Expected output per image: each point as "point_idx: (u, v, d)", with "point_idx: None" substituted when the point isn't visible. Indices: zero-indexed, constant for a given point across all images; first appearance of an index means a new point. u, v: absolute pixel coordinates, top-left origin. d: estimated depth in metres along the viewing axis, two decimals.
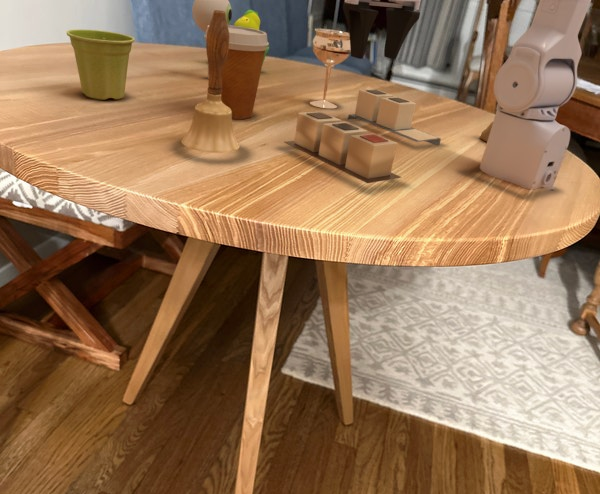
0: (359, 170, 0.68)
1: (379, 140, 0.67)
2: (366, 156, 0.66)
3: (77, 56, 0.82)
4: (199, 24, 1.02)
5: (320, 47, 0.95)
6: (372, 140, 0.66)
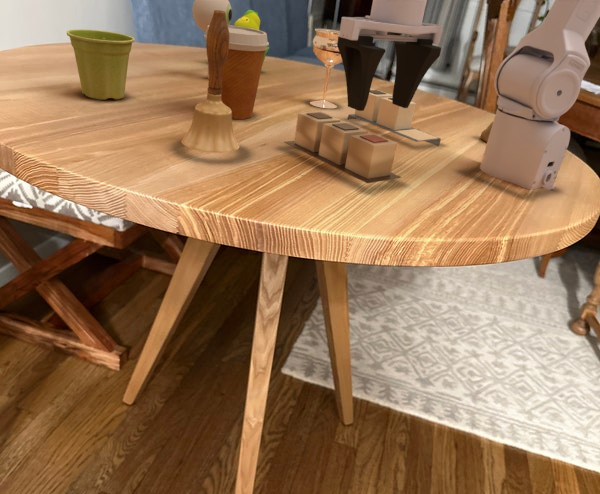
0: (359, 170, 0.68)
1: (379, 140, 0.67)
2: (366, 156, 0.66)
3: (77, 56, 0.82)
4: (199, 24, 1.02)
5: (320, 47, 0.95)
6: (372, 140, 0.66)
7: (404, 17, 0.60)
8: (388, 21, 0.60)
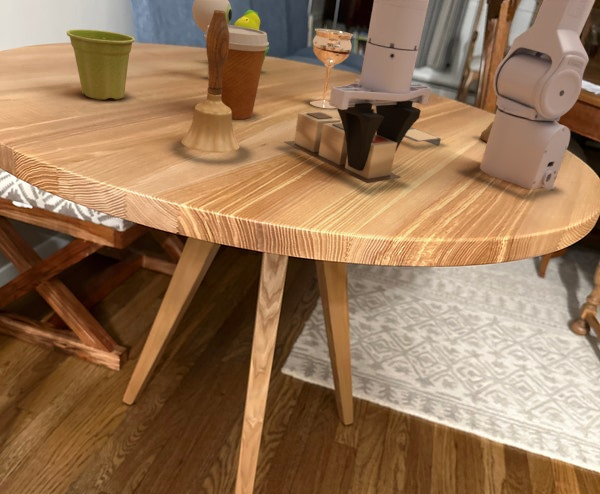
0: None
1: (379, 140, 0.67)
2: None
3: (77, 56, 0.82)
4: (199, 24, 1.02)
5: (320, 47, 0.95)
6: None
7: (392, 86, 0.61)
8: (377, 89, 0.62)
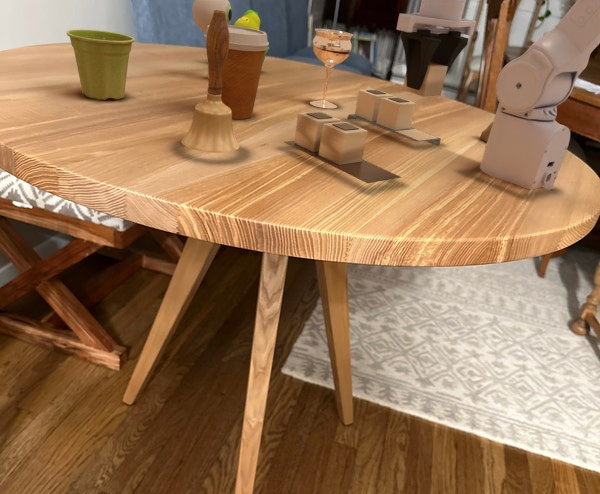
0: (416, 90, 0.80)
1: (433, 63, 0.79)
2: None
3: (77, 56, 0.82)
4: (199, 24, 1.02)
5: (320, 47, 0.95)
6: None
7: (448, 14, 0.74)
8: (435, 17, 0.75)
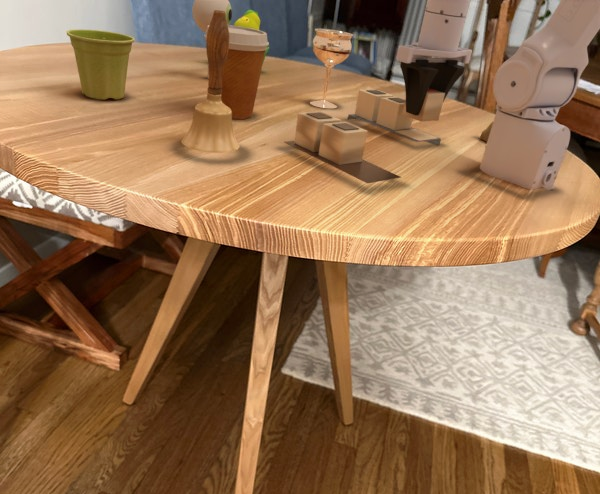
0: (414, 115, 0.85)
1: (431, 91, 0.84)
2: None
3: (77, 56, 0.82)
4: (199, 24, 1.02)
5: (320, 47, 0.95)
6: None
7: (445, 45, 0.79)
8: (433, 48, 0.79)
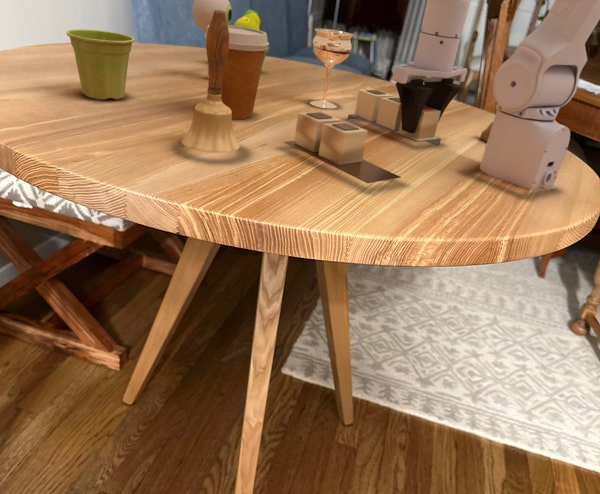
0: None
1: (427, 108, 0.85)
2: None
3: (77, 56, 0.82)
4: (199, 24, 1.02)
5: (320, 47, 0.95)
6: None
7: (440, 66, 0.80)
8: (428, 68, 0.80)
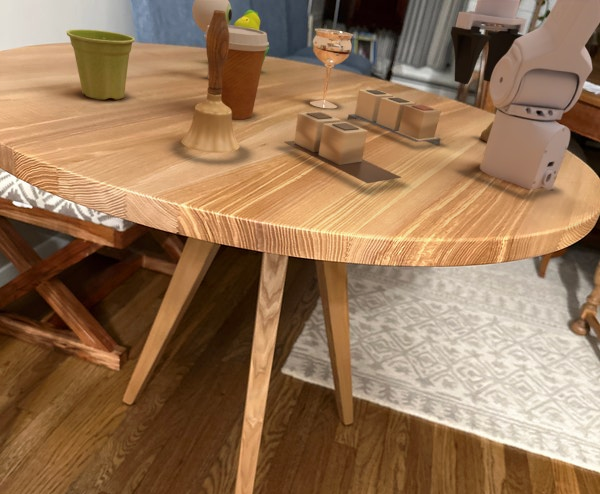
0: (411, 132, 0.86)
1: (427, 108, 0.85)
2: (417, 121, 0.85)
3: (77, 56, 0.82)
4: (199, 24, 1.02)
5: (320, 47, 0.95)
6: (422, 108, 0.85)
7: (504, 12, 0.79)
8: (492, 15, 0.79)
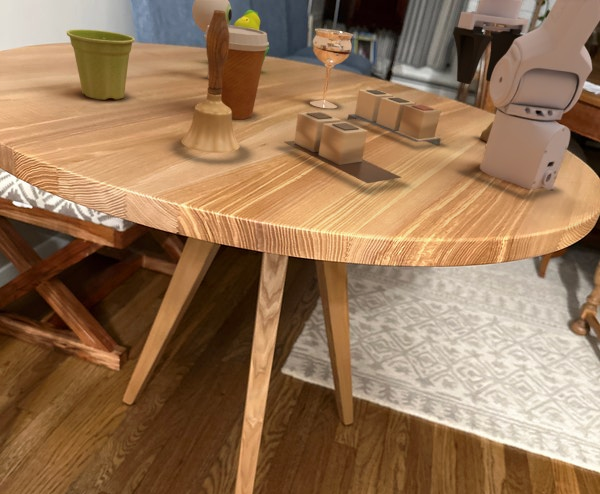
0: (411, 132, 0.86)
1: (427, 108, 0.85)
2: (417, 121, 0.85)
3: (77, 56, 0.82)
4: (199, 24, 1.02)
5: (320, 47, 0.95)
6: (422, 108, 0.85)
7: (507, 12, 0.79)
8: (494, 15, 0.79)
